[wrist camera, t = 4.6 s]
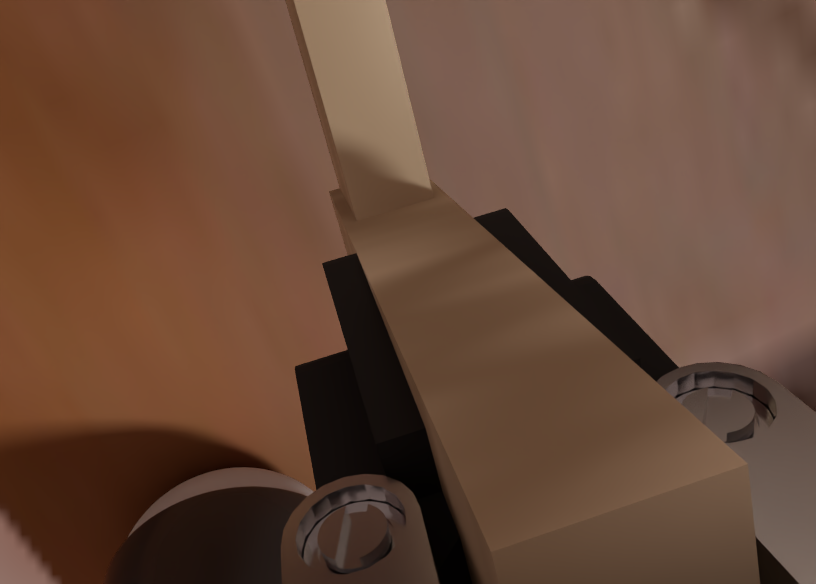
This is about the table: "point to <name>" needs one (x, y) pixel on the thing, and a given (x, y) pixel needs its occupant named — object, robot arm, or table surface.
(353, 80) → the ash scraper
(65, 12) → the table surface
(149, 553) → the pump dispenser
